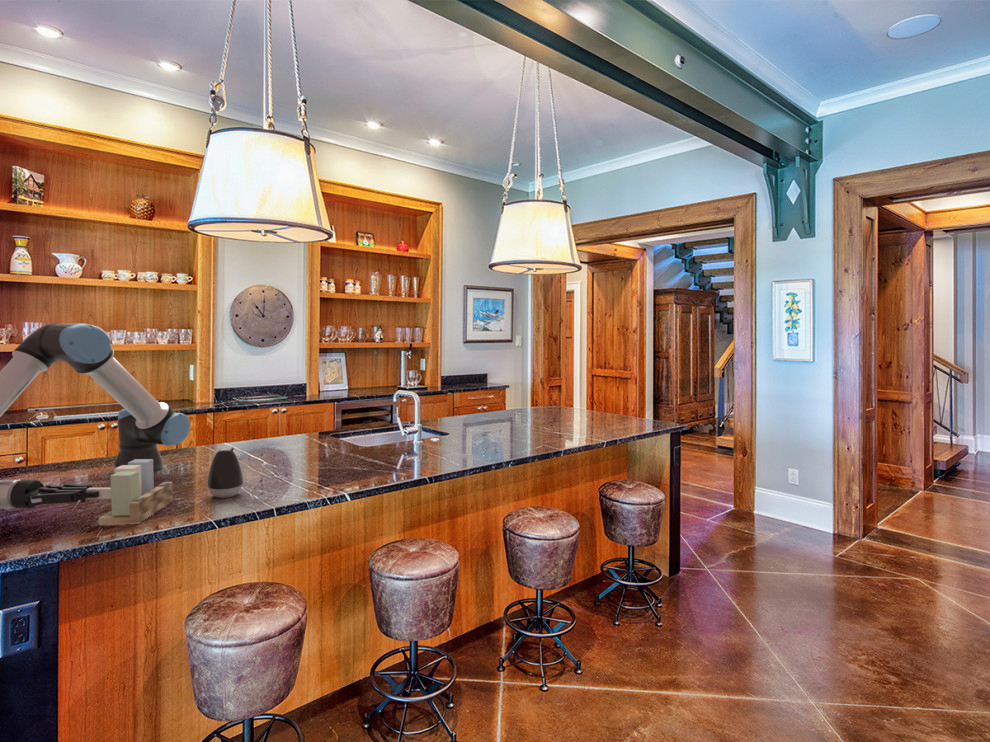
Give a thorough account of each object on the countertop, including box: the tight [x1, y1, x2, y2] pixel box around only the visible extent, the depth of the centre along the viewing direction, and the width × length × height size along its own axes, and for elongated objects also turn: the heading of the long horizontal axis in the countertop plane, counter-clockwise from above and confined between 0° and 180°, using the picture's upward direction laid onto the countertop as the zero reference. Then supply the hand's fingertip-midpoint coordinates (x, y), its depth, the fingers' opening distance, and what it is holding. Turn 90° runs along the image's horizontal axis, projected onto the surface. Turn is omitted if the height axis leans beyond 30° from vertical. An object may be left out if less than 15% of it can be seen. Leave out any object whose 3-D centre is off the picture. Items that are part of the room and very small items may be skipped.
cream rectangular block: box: [113, 465, 142, 496], centre depth 155 cm, size 4×5×11 cm
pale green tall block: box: [110, 471, 139, 516], centre depth 149 cm, size 4×5×11 cm
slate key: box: [128, 459, 155, 495], centre depth 162 cm, size 4×5×11 cm
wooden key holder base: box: [98, 481, 174, 526], centre depth 156 cm, size 20×10×6 cm, turn 7°
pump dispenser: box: [206, 447, 244, 499], centre depth 173 cm, size 10×10×15 cm
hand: (113, 493), depth 148 cm, fingers closed
